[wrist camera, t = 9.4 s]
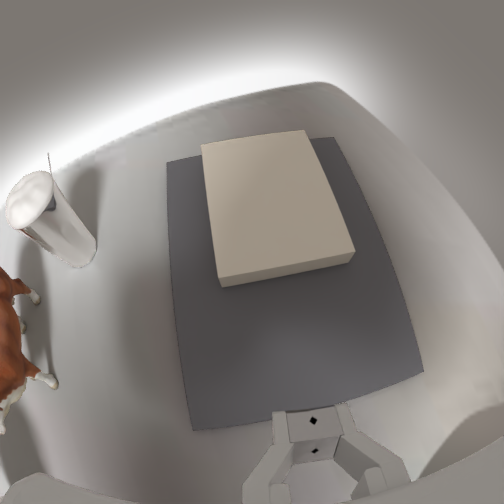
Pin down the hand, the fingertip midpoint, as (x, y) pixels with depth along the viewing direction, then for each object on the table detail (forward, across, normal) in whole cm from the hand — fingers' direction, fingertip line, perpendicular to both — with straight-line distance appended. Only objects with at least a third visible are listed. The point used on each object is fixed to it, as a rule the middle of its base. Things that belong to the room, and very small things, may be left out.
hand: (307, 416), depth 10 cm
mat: (+12, 0, -2) cm, 13 cm away
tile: (+10, 0, -2) cm, 10 cm away
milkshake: (+14, +16, -3) cm, 22 cm away
